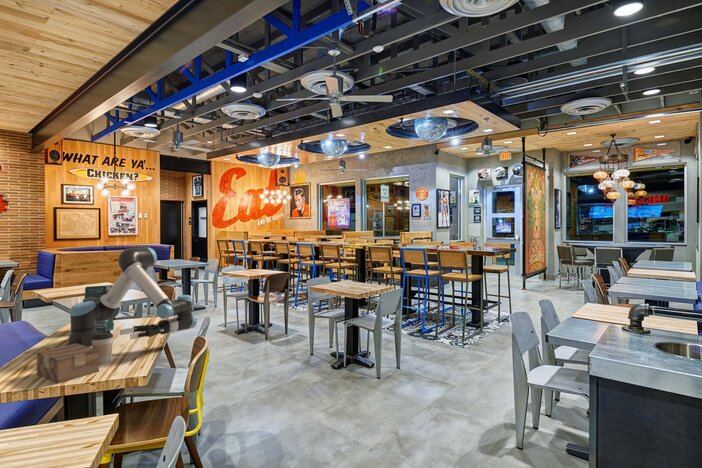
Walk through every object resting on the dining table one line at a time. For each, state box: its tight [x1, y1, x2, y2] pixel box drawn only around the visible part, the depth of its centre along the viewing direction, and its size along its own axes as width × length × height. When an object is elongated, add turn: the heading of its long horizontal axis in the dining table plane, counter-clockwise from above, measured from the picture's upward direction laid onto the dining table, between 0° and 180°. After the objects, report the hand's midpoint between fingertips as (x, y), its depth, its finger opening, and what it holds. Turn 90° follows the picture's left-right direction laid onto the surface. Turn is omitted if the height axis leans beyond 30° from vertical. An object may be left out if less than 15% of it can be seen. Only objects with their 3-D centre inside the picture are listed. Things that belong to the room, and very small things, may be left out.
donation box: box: [82, 284, 115, 332], centre depth 246 cm, size 16×16×28 cm
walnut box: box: [36, 344, 100, 384], centre depth 171 cm, size 20×16×10 cm
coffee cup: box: [91, 331, 114, 366], centre depth 184 cm, size 9×9×15 cm
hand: (125, 334), depth 192 cm, fingers open, 13 cm apart
